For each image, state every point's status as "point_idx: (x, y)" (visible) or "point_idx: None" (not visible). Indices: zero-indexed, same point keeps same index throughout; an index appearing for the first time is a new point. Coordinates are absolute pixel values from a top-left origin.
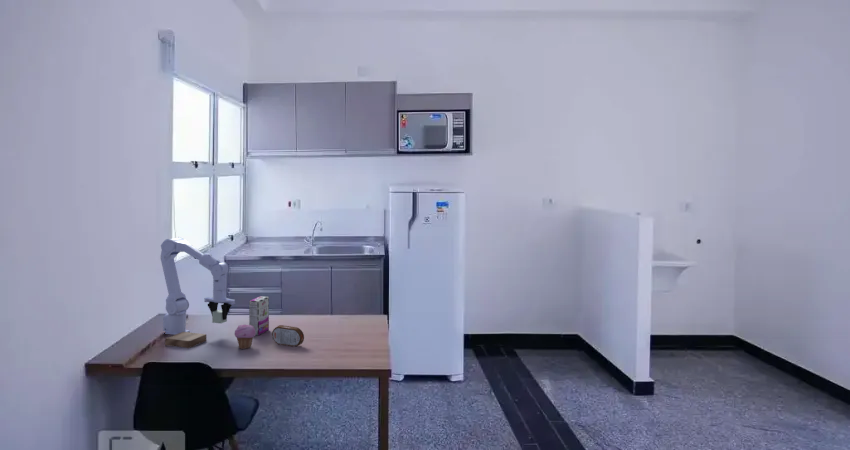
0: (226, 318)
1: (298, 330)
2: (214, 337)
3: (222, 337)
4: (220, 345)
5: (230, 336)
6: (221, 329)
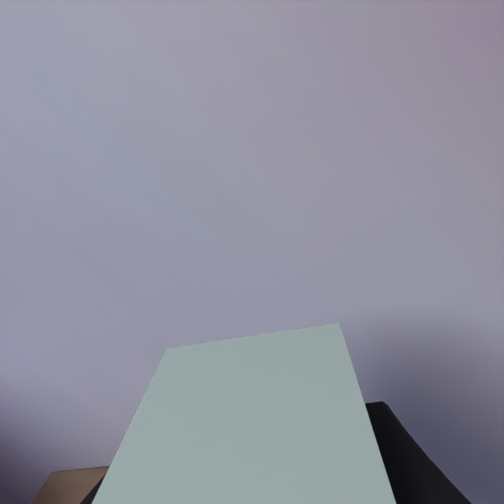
0: (351, 363)
1: None
2: None
3: (313, 301)
4: (475, 487)
5: (360, 231)
6: (39, 41)
